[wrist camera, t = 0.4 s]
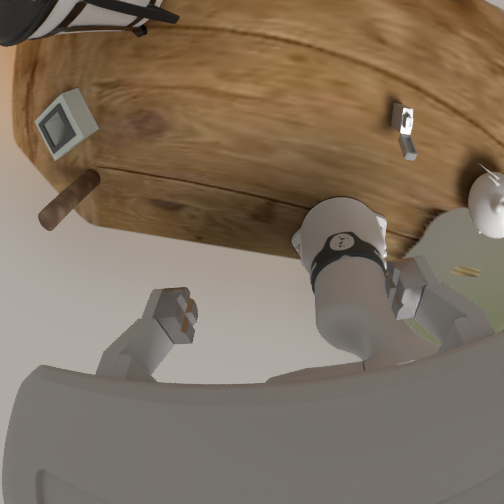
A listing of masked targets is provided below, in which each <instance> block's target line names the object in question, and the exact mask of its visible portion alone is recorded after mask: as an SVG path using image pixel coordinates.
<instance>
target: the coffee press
mask: <svg viewBox="0 0 504 504" xmlns="http://www.w3.org/2000/svg"><path fill="white" fill-rule="evenodd" d="M162 1H163V0H0V45H1V46H5V47H6V46H7V47H8V46H13V45H17V44H19V43H21V42H23V41H25V40H26V39H28V40H35V39H41V38H47V37H50V36H53V35H57V34H66V33H78V32H99V31H132V32H133V33H134V34H135V35H136V36H137V37H141V36H143V35H146V34H147V29H146V27H145V26H144V25H143V24H144V23H145V22H146V21H148V20H149V19H152V20H157V21H162V22H167V23H173V24H175V23H176V22H177V21H178V19H179V18H180V17H179V16H177V15H175V14H173V13H171V12H169V11H167V10H164V9H162V8H159V7H160V5H161V3H162Z"/></svg>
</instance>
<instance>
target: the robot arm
mask: <svg viewBox="0 0 504 504" xmlns="http://www.w3.org/2000/svg"><path fill="white" fill-rule="evenodd" d="M386 225H387V222H386V218H385V217H384V216H382V215H380V214H377V213H374V212H372V211H371V210H370V209H369V208H368V207H367V206H366V205H364V204H363V203H361V202H360V201H357V200H355V199H352V198H346V197H338V198H331V199H328V200H325V201H323V202H321V203H319V204H317V205H316V206H315V207H313V208H312V209H311V210H310V211H309V212H308V214H307V215H306V217H305V219H304V221H303V223H302V226H301V228H300V229H299V230H298V231H297V232H296V233H295V234H294V235H293V236H292V238H291V241H292V244H293V246H294V248H295V249H296V251H297V252H298V254H299V255H300V257H301V262H302V265H303V266H305V268H306V270H307V271H308V272H309V274H310V280H311V284H312V290H313V292H314V294H315V308H316V325H317V328H318V331H319V333H320V334H321V336H322V337H323V338H324V339H325V340H326V341H327V342H328V343H330V344H331V345H332V346H334V347H335V348H337V349H340V350H343V351H346V352H350V353H352V354H355V355H357V356H358V357H360V358H361V359H362V360H363V361H361V362H354V363H347V364H340V365H332V366H324V367H314V368H306V369H302V370H298V371H294V372H290V373H287V374H283V375H280V376H276V377H272V378H270V379H268V380H267V381H266V382H265V383H255V384H227V385H226V384H208V385H207V384H177V383H160V382H157V381H156V380H155V379H154V378H153V377H152V376H151V375H152V373H153V372H154V371H155V369H156V368H157V367H158V366H159V364H160V363H161V362H162V360H163V359H164V358H165V356H166V355H167V354H168V353H169V351H170V350H171V349H172V347H173V346H174V344H188V343H192V342H193V337H194V332H195V330H194V328H193V325H194V324H195V323H196V322H197V317H198V313H197V312H198V311H197V306H196V303H195V301H194V300H193V299H191V298H189V297H190V292H189V290H188V288H186V287H181V288H166V289H154V290H153V291H152V292H151V295H150V297H149V300H148V303H147V306H146V308H145V311H144V313H143V316H142V319H138V320H137V321H136V322H135V323H134V324H133V325H131V326H130V327H129V328H128V329H127V330H126V331H125V332H124V333H123V334H122V335H121V336H120V337H119V338H118V339H117V340H116V341H115V342H113V343H112V344H111V345H110V346H109V347H108V348H107V349H106V350H105V351H104V352H103V355H102V358H101V360H100V363H99V366H98V369H97V371H96V375H92V374H85V373H81V372H75V371H70V370H65V369H60V368H56V367H51V366H47V365H40V366H39V367H37V368H36V369H35V370H34V371H33V372H32V373H31V374H30V375H29V376H28V377H27V378H26V379H25V380H24V381H23V382H22V384H21V386H20V388H19V390H18V393H17V396H16V399H15V403H14V406H13V409H12V413H11V417H10V421H9V426H8V431H7V436H6V442H5V448H4V457H3V469H2V489H3V497H4V503H5V504H504V330H502V331H500V332H497V333H495V332H494V330H493V328H492V326H491V324H490V322H489V320H488V318H487V316H486V314H485V312H484V310H483V309H481V308H480V307H478V306H477V305H475V304H474V303H473V302H471V301H470V300H468V299H467V298H465V297H464V296H462V295H461V294H459V293H458V292H456V291H455V290H453V289H452V288H450V287H449V286H447V285H446V284H444V283H439V281H438V279H437V278H436V276H435V274H434V272H433V271H432V269H431V267H430V266H429V264H428V262H427V260H426V259H425V257H424V256H416V257H411V258H405V259H399V260H393V261H389V263H388V268H387V269H388V271H389V274H388V275H387V276H386V260H385V259H384V258H385V257H387V252H386V250H385V249H386V243H385V232H386ZM380 226H381V227H380ZM299 244H300V245H299ZM412 317H414V318H415V319H416V320H417V321H418V322H419V323H420V324H421V325H422V326H423V327H424V328H426V329H427V330H428V331H429V332H430V333H431V334H432V335H433V336H434V337H435V338H436V339H437V340H438V341H439V342H440V343H441V344H442V345H441V346H438V345H436V344H434V343H432V342H430V341H428V340H427V339H425V338H424V337H422V336H421V335H420V334H418V333H417V332H416V331H415V330H414V329H412V328H411V327H410V326H409V325H408V324H407V323H406V321H405V320H404V319H407V318H412Z"/></svg>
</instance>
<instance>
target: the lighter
mask: <svg viewBox="0 0 504 504" xmlns="http://www.w3.org/2000/svg"><path fill="white" fill-rule="evenodd" d="M412 118H413V110H412V109H411V108H409V107H407V106H405V105H403V104H399V103H393V112H392V121H391V126H392V127H393V128H395V129H396V130H397V131H398V132H400V133H401V134H400V137H399V139H398V141H399V144H400V147H401V150H402V153H403V156H404V158H405V159H407V160H413V161H414V160H415V158H416V156H417V151H416V148H415V146H414V143H413V141H412V138H411V136H410V133H411V129H412V124H413V119H412Z"/></svg>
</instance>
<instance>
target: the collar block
mask: <svg viewBox="0 0 504 504" xmlns="http://www.w3.org/2000/svg"><path fill="white" fill-rule="evenodd" d="M35 123H36V126H37V128H38V130H39V132H40V134H41V136H42V137H43V139H44V141H45V143H46V145H47V147H48V149H49V151H50V153H51V154H52V156H53V158H54V160H55V161H56V160H57V159H59V158H60V157H62V156H63V155H65V154H66V153H68V152H69V151H71V150H72V149H73V148H74V147H76V146H77V145H78V144H79V143H81V142H82V141H83V140H85V139H86V138H87V137H89V136H90V135H91V134H93V133H94V132H96V131H97V130H98V129H99V127H98V126H97V124H96V122H95V120H94V118H93V116H92V114H91V112H90V110H89V108H88V106H87V104H86V102H85V100H84V98H83V96H82V94H81V92H80V90H79V88H76V89H73V90H70V91H67V92H64V93H62V94H61V95H60V96H59V97H58V98H57V99H56V100H55V101H54V102H53V103H52V104H51V105H50V106H49V107H48V108H47V109H46V110H45V111H44V112H43V113H42V114H41V115H40V116H39V117H38V119H37V120H36V121H35Z"/></svg>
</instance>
